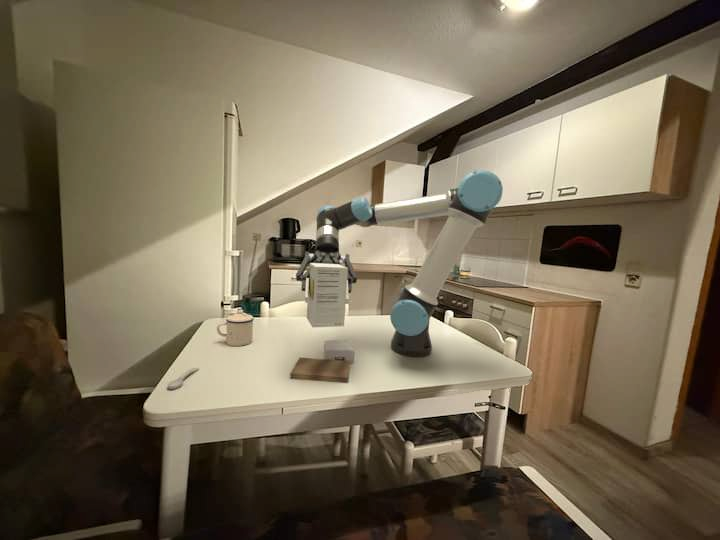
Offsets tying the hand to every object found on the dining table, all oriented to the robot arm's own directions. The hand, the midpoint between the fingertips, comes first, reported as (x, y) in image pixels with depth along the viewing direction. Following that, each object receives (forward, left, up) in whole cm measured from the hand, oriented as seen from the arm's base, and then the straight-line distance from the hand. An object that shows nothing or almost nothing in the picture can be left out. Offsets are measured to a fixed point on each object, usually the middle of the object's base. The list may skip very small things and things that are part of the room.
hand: (326, 300), depth 81 cm
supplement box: (+1, -3, -7) cm, 8 cm away
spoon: (+35, +7, -23) cm, 43 cm away
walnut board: (+1, -3, -22) cm, 22 cm away
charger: (-3, -17, -22) cm, 28 cm away
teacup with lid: (+35, -21, -22) cm, 46 cm away
